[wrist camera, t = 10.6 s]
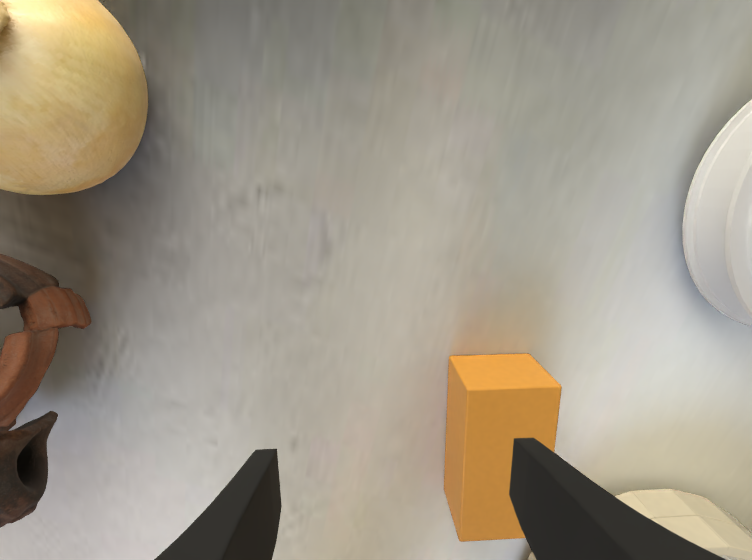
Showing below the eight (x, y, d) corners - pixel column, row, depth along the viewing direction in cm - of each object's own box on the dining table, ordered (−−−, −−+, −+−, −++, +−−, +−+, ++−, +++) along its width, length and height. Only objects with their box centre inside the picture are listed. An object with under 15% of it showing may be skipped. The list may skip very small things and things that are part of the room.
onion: (151, 216, 19) (37, 238, 12) (-31, 158, 18) (-268, 147, 11) (189, 36, 17) (82, -56, 10) (-10, -39, 16) (-277, -197, 9)
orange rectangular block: (517, 485, 24) (544, 537, 20) (443, 489, 24) (459, 542, 20) (529, 352, 22) (562, 386, 18) (448, 355, 22) (467, 389, 18)
